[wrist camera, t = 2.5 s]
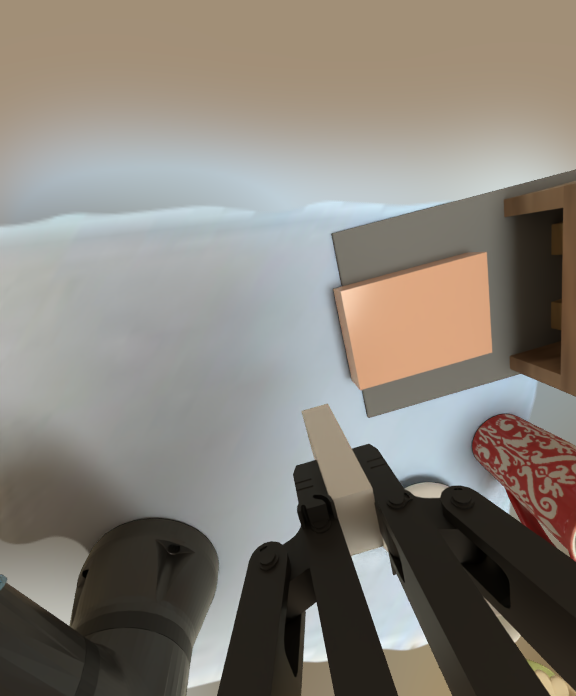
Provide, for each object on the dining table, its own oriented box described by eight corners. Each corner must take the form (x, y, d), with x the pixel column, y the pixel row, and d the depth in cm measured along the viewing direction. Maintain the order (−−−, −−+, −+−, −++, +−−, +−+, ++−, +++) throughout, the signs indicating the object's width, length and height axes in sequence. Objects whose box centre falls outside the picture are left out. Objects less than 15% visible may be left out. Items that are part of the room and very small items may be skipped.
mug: (471, 406, 37) (591, 486, 24) (540, 404, 38) (691, 480, 25) (452, 496, 40) (549, 608, 27) (516, 492, 41) (637, 598, 28)
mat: (367, 416, 35) (368, 417, 35) (331, 233, 29) (332, 233, 29) (595, 350, 36) (598, 351, 36) (604, 162, 31) (609, 160, 30)
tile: (352, 380, 33) (360, 390, 31) (333, 288, 30) (340, 291, 28) (474, 345, 34) (492, 352, 32) (467, 252, 31) (486, 252, 29)
